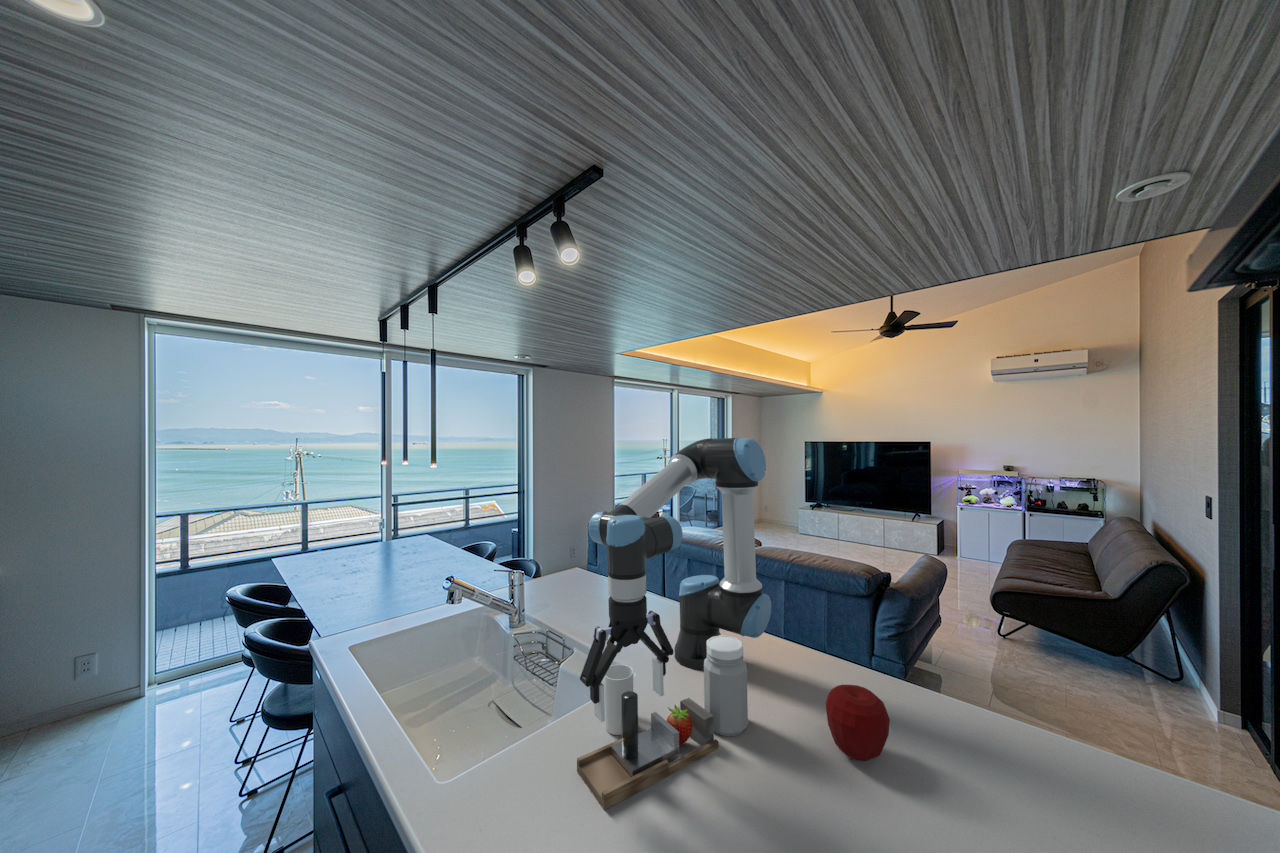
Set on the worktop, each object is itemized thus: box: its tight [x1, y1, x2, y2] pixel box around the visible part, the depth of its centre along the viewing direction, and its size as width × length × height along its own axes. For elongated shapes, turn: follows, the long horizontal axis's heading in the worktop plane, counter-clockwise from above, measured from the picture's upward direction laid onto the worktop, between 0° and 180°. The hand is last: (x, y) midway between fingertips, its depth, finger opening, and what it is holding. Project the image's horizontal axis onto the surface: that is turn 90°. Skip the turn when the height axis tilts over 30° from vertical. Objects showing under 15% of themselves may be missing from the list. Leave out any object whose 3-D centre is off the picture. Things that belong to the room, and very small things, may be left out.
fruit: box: [666, 704, 692, 746], centre depth 92 cm, size 5×5×8 cm
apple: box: [825, 684, 891, 762], centre depth 89 cm, size 12×12×13 cm
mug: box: [603, 663, 634, 736], centre depth 100 cm, size 10×7×12 cm, turn 160°
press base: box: [576, 697, 720, 811], centre depth 88 cm, size 27×11×6 cm, turn 124°
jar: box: [703, 634, 749, 737], centre depth 99 cm, size 10×10×18 cm
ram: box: [611, 691, 680, 776], centre depth 88 cm, size 11×8×12 cm
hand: (630, 704), depth 86 cm, fingers open, 13 cm apart
